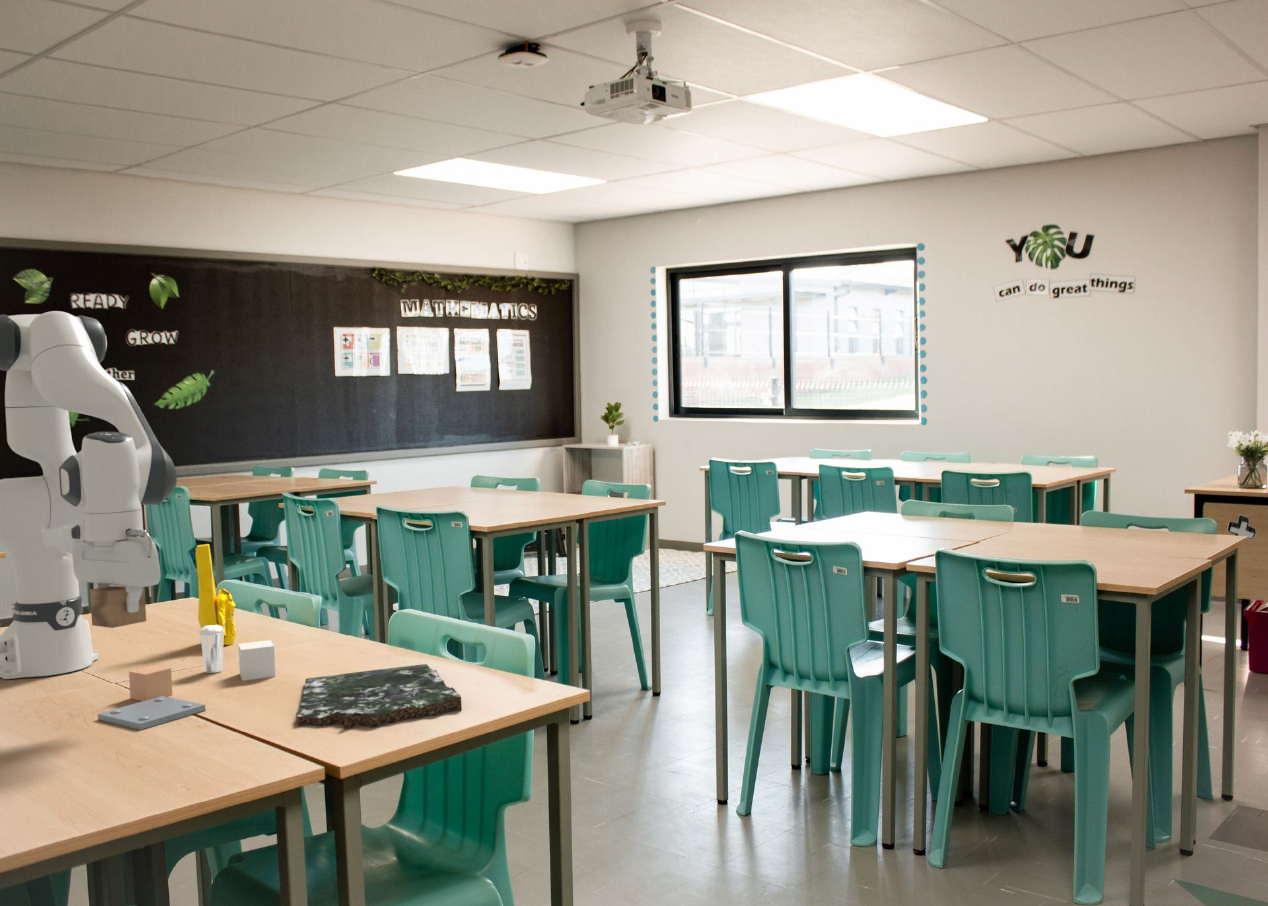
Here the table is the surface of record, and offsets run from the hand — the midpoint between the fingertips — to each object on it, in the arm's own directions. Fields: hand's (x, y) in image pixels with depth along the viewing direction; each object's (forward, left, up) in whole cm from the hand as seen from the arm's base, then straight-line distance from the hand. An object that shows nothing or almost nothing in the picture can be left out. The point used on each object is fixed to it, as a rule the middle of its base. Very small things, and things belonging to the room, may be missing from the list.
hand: (119, 610), depth 180 cm
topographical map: (+30, +27, -19) cm, 45 cm away
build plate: (+3, +3, -18) cm, 19 cm away
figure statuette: (-34, +43, -18) cm, 57 cm away
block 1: (0, 0, -2) cm, 2 cm away
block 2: (-8, +10, -18) cm, 22 cm away
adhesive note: (-3, +29, -18) cm, 34 cm away
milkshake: (-13, +27, -18) cm, 35 cm away
